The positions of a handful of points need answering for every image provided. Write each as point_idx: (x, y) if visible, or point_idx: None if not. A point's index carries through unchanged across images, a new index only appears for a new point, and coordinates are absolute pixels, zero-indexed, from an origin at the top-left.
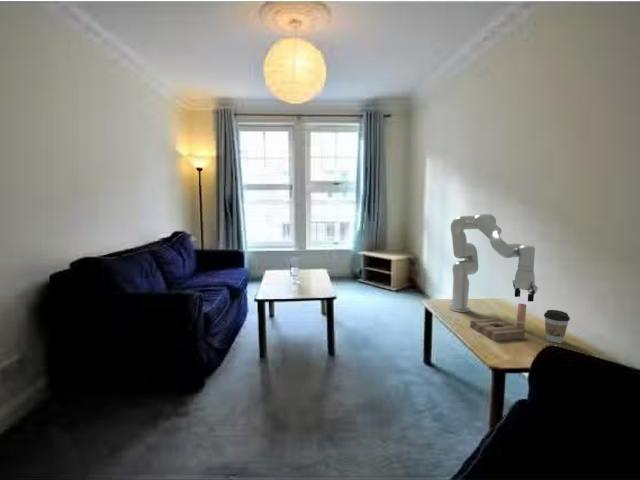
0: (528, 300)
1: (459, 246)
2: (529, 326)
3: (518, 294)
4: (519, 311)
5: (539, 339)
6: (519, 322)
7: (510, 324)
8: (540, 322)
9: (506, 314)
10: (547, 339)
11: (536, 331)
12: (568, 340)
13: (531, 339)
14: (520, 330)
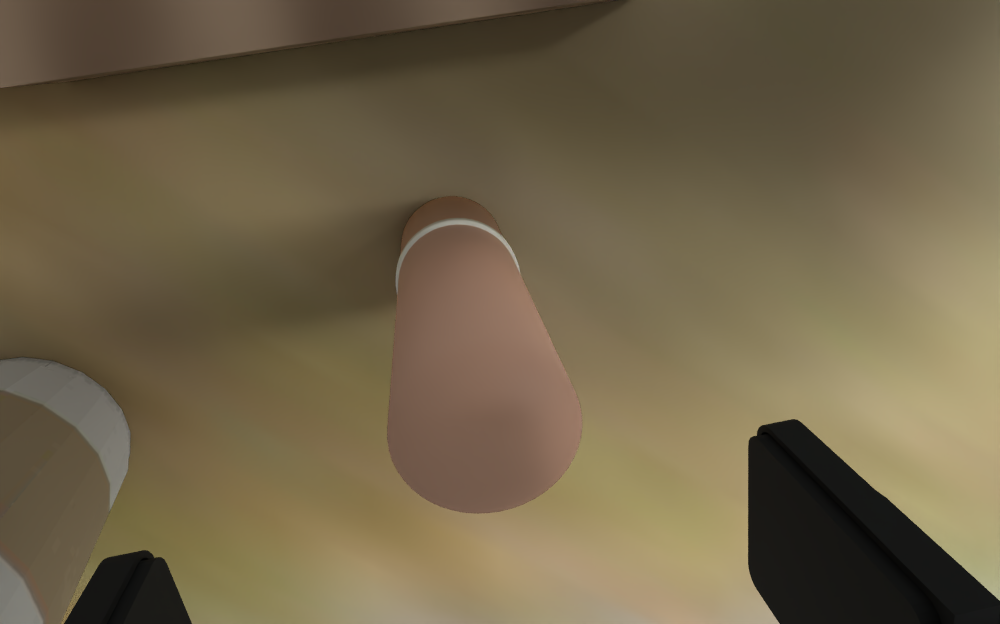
0: (94, 578)
1: None
2: None
3: (789, 578)
4: (440, 291)
5: (59, 282)
6: (417, 235)
7: (334, 18)
8: (648, 590)
9: (971, 370)
10: (17, 363)
11: (363, 403)
12: (87, 582)
13: (37, 169)
14: (6, 15)
